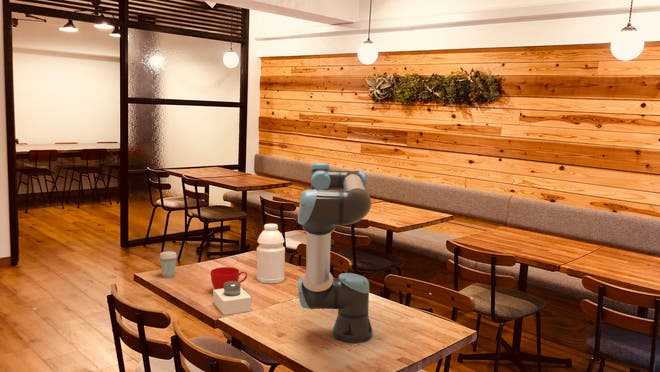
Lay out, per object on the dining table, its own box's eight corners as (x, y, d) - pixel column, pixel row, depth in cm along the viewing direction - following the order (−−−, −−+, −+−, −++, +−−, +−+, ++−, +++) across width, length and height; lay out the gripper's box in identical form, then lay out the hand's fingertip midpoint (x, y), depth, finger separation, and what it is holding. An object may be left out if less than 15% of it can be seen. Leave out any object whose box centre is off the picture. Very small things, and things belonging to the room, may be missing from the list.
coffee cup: (159, 274, 292) (159, 251, 291) (176, 273, 295) (176, 250, 293) (159, 279, 284) (159, 255, 282) (177, 278, 287) (177, 254, 285)
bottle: (259, 275, 295) (259, 221, 291) (286, 276, 294) (286, 222, 290) (254, 283, 281) (254, 227, 277) (282, 284, 280) (283, 228, 276)
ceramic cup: (250, 293, 266) (250, 272, 265) (213, 297, 260) (213, 276, 258) (243, 285, 278) (243, 265, 277) (208, 288, 272) (208, 268, 270)
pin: (242, 307, 247) (242, 284, 245) (226, 309, 244) (226, 286, 242) (237, 302, 253) (237, 280, 252) (221, 304, 250) (221, 282, 248)
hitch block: (251, 311, 244) (251, 297, 243) (223, 315, 239) (223, 301, 238) (239, 299, 258) (239, 286, 257) (213, 303, 253) (213, 289, 252)
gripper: (335, 201, 238) (334, 257, 241) (320, 197, 249) (319, 250, 253) (319, 202, 235) (318, 259, 238) (305, 198, 246) (304, 252, 249)
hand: (318, 254), depth 245 cm, fingers closed
